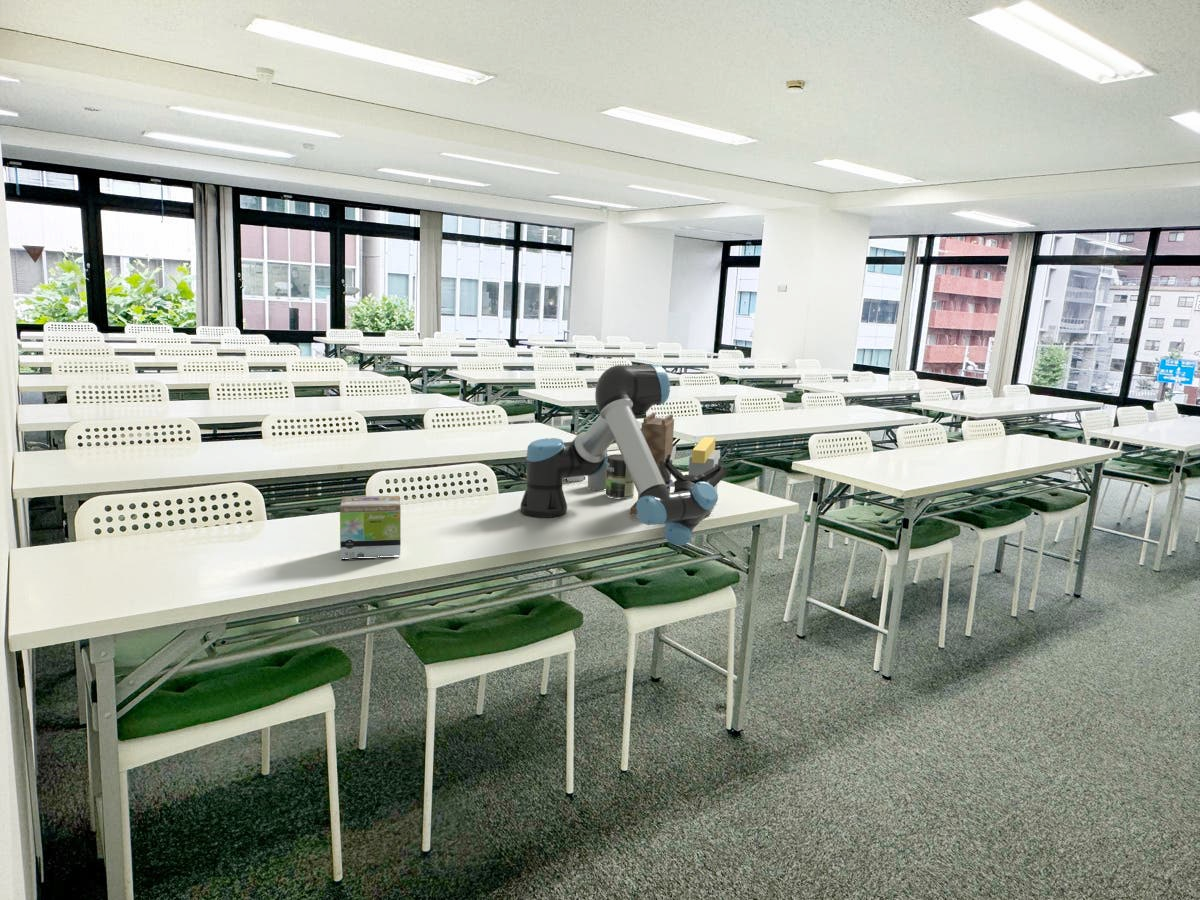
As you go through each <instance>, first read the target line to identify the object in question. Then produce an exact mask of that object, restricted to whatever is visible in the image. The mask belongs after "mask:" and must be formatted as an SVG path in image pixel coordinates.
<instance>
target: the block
mask: <svg viewBox="0 0 1200 900" xmlns="http://www.w3.org/2000/svg"><path fill="white" fill-rule="evenodd" d="M716 439H717V438H716V437H709V436H704V437H702V438H701V440H699V442H698V443H696V445H695V446H694V447H693V449H692V452H691V453H692V454H691V455H692V462H694V463H705V462H706V460H707V459H708V458H709V456H710V455H711V454H712V452H713V451H714V450H716Z"/></svg>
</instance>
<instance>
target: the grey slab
mask: <svg viewBox="0 0 1200 900" xmlns="http://www.w3.org/2000/svg"><path fill="white" fill-rule="evenodd" d="M718 450H719V449H715V450H714V451H713V452H712V454H711V455H710V456H709V458H708V459H707V460H706V462H705V463H694V462H692V454H691V455H690V456H689V458H688V459H689V462H688V474H687V475H696V476H698V475H700V474H704V473H705V472H707V471H709V470H710V469H712V468H714V467H715V461H716V456H717V451H718ZM711 479H712V478H711ZM711 479H710V480H711ZM710 480H708V481H706V483H707V482H709V481H710ZM714 488H715V490H716V492H717V493H718V484H717V485H716V486H715V487H714ZM714 506H715V507H716V505H714ZM714 506H713V508H714V509H715V507H714ZM713 508H712V510H713V511H714V509H713ZM712 510H710V511H709V512H708V513H707V514H706V516H709V515H710V514H711V515H712V513H713V511H712ZM711 512H712V513H711ZM711 515H710V516H711Z"/></svg>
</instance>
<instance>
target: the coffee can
mask: <svg viewBox="0 0 1200 900" xmlns="http://www.w3.org/2000/svg"><path fill="white" fill-rule="evenodd" d="M605 494H606V495H607V496H609V497H613V498H612V499H614V498H620V499H619V500H627V499H626V498H630V499H632V497H633V496H634V497H635V485H634V482H633V480H632V478H631V475H630V473H629V471H628V468H627V466H626V464H625V462H624V459H623V457H622V455H621V453H620V454H619V453H617V454H609V455H608V458H607V478H606V490H605ZM606 495H605V496H606ZM607 496H606V497H607ZM609 497H608V498H609ZM634 497H633V498H634Z"/></svg>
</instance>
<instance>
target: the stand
mask: <svg viewBox="0 0 1200 900" xmlns="http://www.w3.org/2000/svg"><path fill="white" fill-rule="evenodd" d="M674 426H675V419H674V414H672V413H671V414H669V415H667V416H666V417H664V418H661V417H656V413H655V412H653V413H650V414H648V415H647V416H645V418H643V421H642V423H641V431H642V433H643V436H644V438H645V440H646V442H647V445H648V447H649V449H650V451H651V454H652V456H653V458H654V460H655V463H656V465H657V467H658V469H659V471H660V466H659V462H660V461H663V462H665V459H667V456H668V454H669V455H671V453H672V449H673V446H674V444H673V443H674V430H675V429H674V428H675V427H674ZM666 470H667V469H666ZM667 472H668V474H669V477H670V479H671V480H672V474H671V473H670V472H669V471H668V470H667ZM660 474H661V476H662V478H663V475H662V473H661V471H660ZM663 480H664V478H663ZM664 483H665V480H664ZM668 491H669V493H671V487H670V488H669V489H668ZM637 495H638V496H637V500H636V501H635V503H634V504H633V505H632V506H631V507H630V509H629V515H632V514H633V515H634V516H637V509H636V505H637V502H638V500H639V499H640V496H639V494H637ZM633 515H632V516H633Z"/></svg>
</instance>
